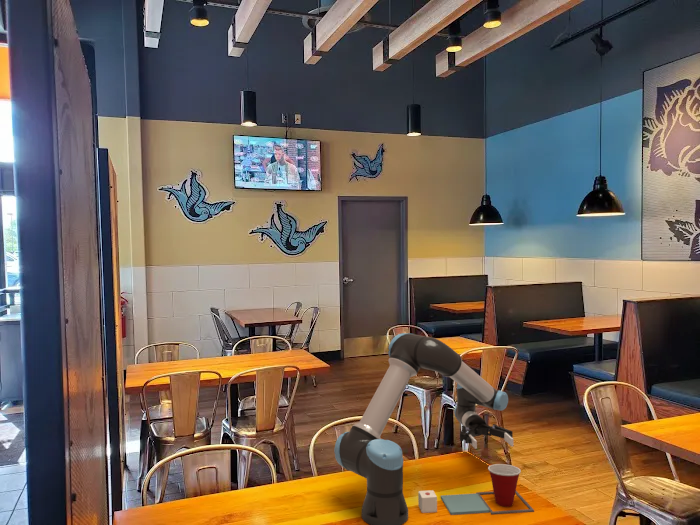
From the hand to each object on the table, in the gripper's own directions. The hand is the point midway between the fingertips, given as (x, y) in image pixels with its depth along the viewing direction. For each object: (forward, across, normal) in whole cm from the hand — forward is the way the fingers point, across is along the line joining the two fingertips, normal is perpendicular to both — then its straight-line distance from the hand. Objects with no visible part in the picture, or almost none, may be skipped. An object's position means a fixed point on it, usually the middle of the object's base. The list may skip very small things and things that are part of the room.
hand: (494, 443), depth 195 cm
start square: (+10, 0, -16) cm, 19 cm away
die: (+11, +28, -16) cm, 34 cm away
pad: (+10, +14, -16) cm, 24 cm away
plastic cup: (+10, 0, -17) cm, 20 cm away
